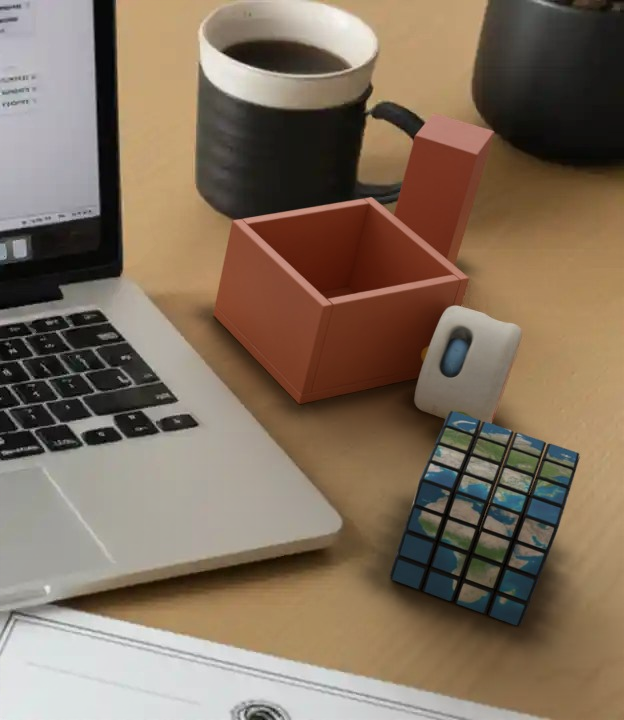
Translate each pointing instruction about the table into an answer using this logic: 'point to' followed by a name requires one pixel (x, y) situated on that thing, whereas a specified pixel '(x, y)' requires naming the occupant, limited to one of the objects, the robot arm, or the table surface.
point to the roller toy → (467, 365)
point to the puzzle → (501, 522)
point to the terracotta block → (443, 181)
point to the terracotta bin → (334, 296)
